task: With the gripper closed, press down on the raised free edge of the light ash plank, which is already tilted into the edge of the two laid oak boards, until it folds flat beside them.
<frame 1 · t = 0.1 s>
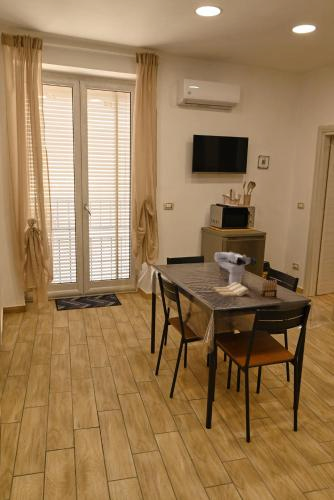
hand: (250, 262, 261), 22 cm above the table, tool horizontal, fingers open, 7 cm apart
ammunition clip: (268, 297, 261), on the table
ash plank: (237, 289, 266), point 3 cm above the table, hinge at 28.0°
laid oak boards: (224, 293, 264), on the table
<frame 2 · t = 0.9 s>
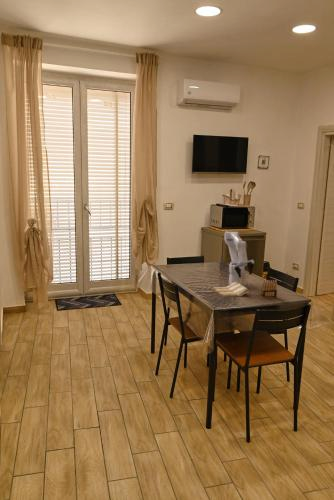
hand: (245, 276, 262), 13 cm above the table, tool tilted 40°, fingers open, 7 cm apart
nothing on the table moved.
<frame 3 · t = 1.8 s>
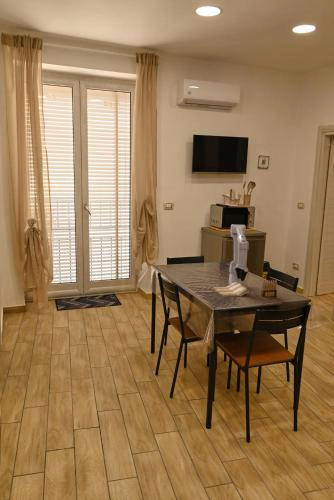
hand: (240, 279, 265), 9 cm above the table, tool pointing down, fingers open, 5 cm apart
nothing on the table moved.
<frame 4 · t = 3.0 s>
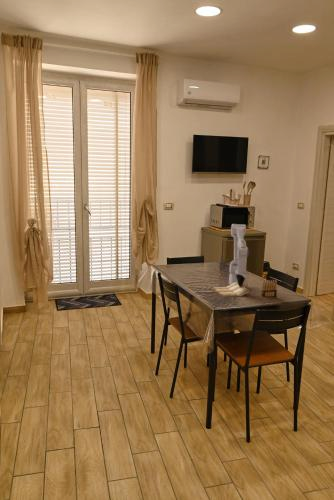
hand: (240, 285, 266), 5 cm above the table, tool pointing down, fingers closed, pressing on ash plank
ash plank: (237, 289, 266), point 3 cm above the table, hinge at 25.8°, touching gripper
everything else where it was.
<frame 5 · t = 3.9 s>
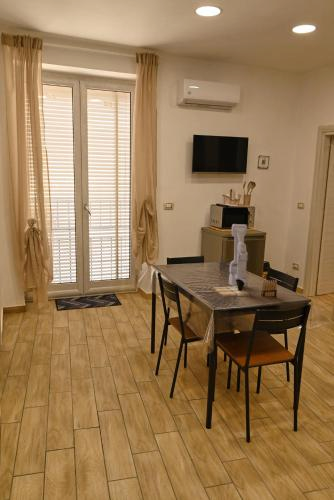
hand: (239, 290, 266), 2 cm above the table, tool pointing down, fingers closed, pressing on ash plank
ash plank: (237, 291, 266), point 1 cm above the table, hinge at 0.4°, touching gripper
everything else where it was.
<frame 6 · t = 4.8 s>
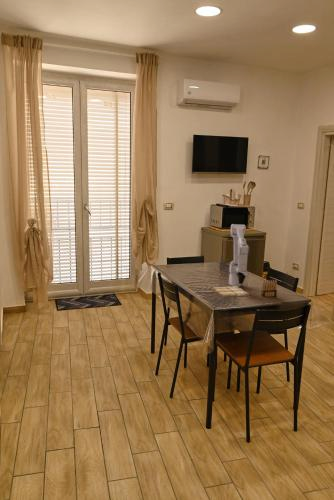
hand: (240, 283, 266), 7 cm above the table, tool pointing down, fingers closed
ash plank: (237, 291, 266), point 1 cm above the table, hinge at 0.3°
everything else where it was.
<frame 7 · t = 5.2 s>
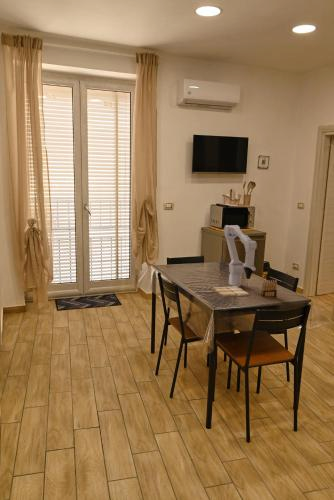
hand: (248, 278, 269), 9 cm above the table, tool pointing down, fingers closed
nothing on the table moved.
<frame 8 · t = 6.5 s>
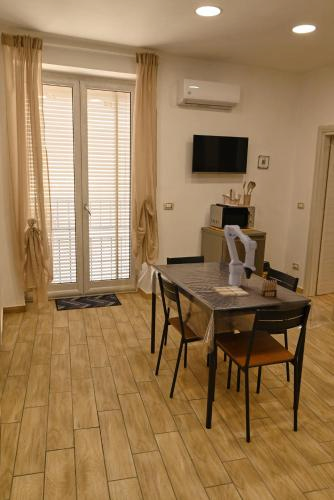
hand: (248, 278, 269), 9 cm above the table, tool pointing down, fingers closed
nothing on the table moved.
at the end: ash plank at +0° (first picture: +28°); ammunition clip moved 0.3 cm from its start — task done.
